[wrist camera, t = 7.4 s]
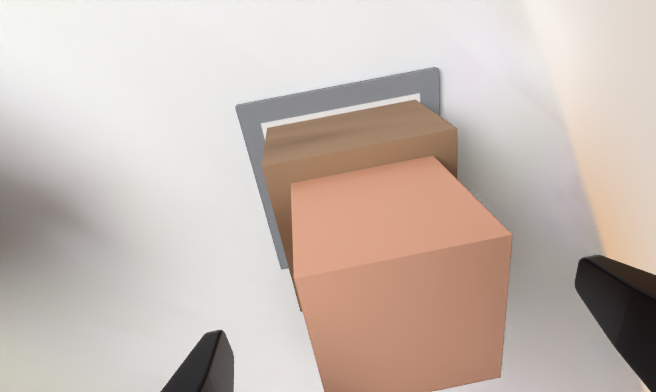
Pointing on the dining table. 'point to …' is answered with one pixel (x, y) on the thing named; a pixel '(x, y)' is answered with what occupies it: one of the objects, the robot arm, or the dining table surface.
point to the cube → (400, 278)
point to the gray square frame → (324, 104)
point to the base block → (349, 151)
